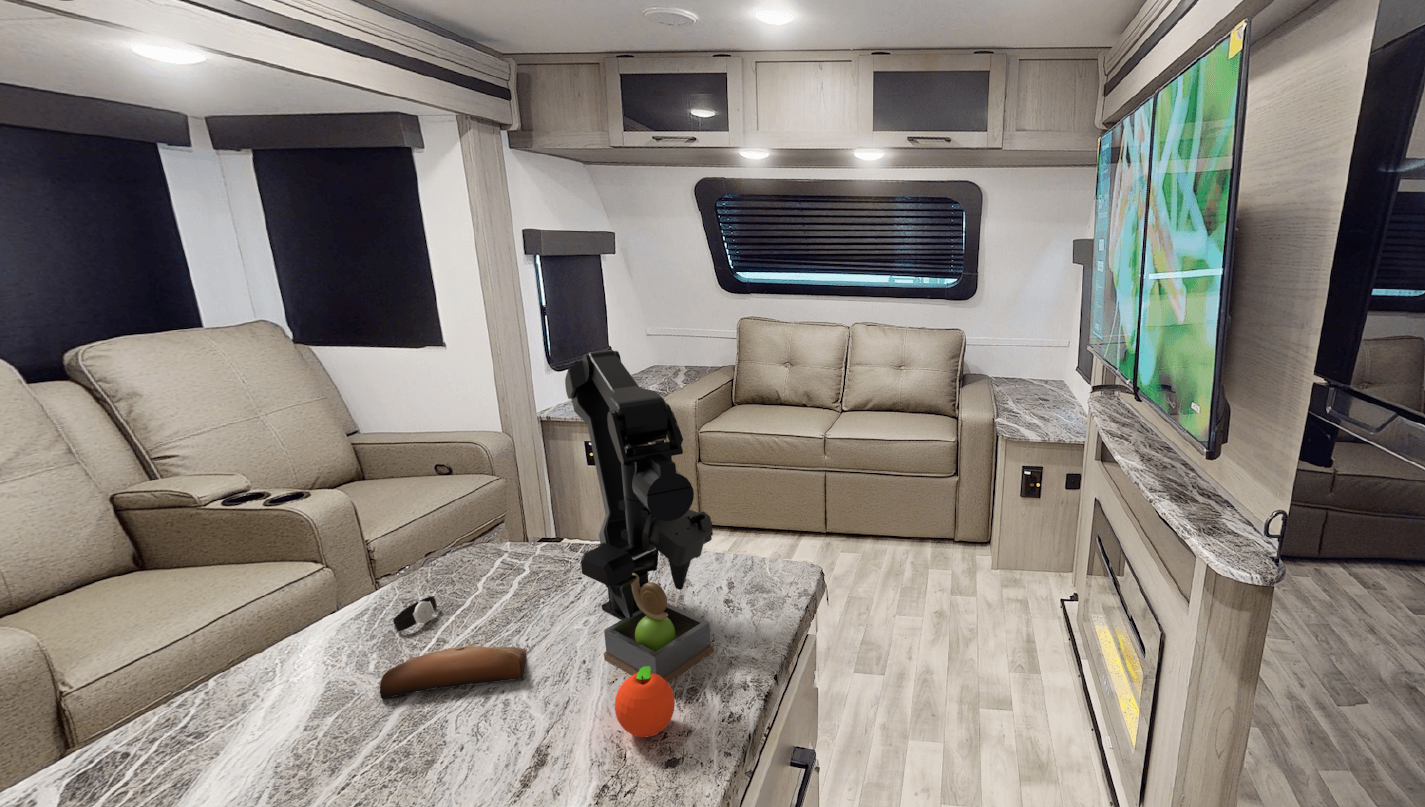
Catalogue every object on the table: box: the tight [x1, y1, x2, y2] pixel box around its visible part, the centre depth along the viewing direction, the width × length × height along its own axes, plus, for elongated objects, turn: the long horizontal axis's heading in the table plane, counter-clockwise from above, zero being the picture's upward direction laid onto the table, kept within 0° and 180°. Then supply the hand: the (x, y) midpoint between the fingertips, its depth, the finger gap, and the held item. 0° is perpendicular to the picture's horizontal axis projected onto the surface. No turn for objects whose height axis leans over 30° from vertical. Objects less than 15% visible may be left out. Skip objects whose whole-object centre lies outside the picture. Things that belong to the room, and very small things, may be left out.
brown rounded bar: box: [379, 645, 528, 699], centre depth 93 cm, size 18×7×7 cm
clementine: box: [614, 666, 676, 738], centre depth 80 cm, size 8×7×7 cm
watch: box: [392, 595, 438, 632], centre depth 107 cm, size 8×5×4 cm, turn 162°
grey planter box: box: [603, 602, 715, 684], centre depth 94 cm, size 11×11×4 cm
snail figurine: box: [631, 573, 675, 652], centre depth 93 cm, size 5×6×12 cm
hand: (654, 602), depth 93 cm, fingers open, 9 cm apart
